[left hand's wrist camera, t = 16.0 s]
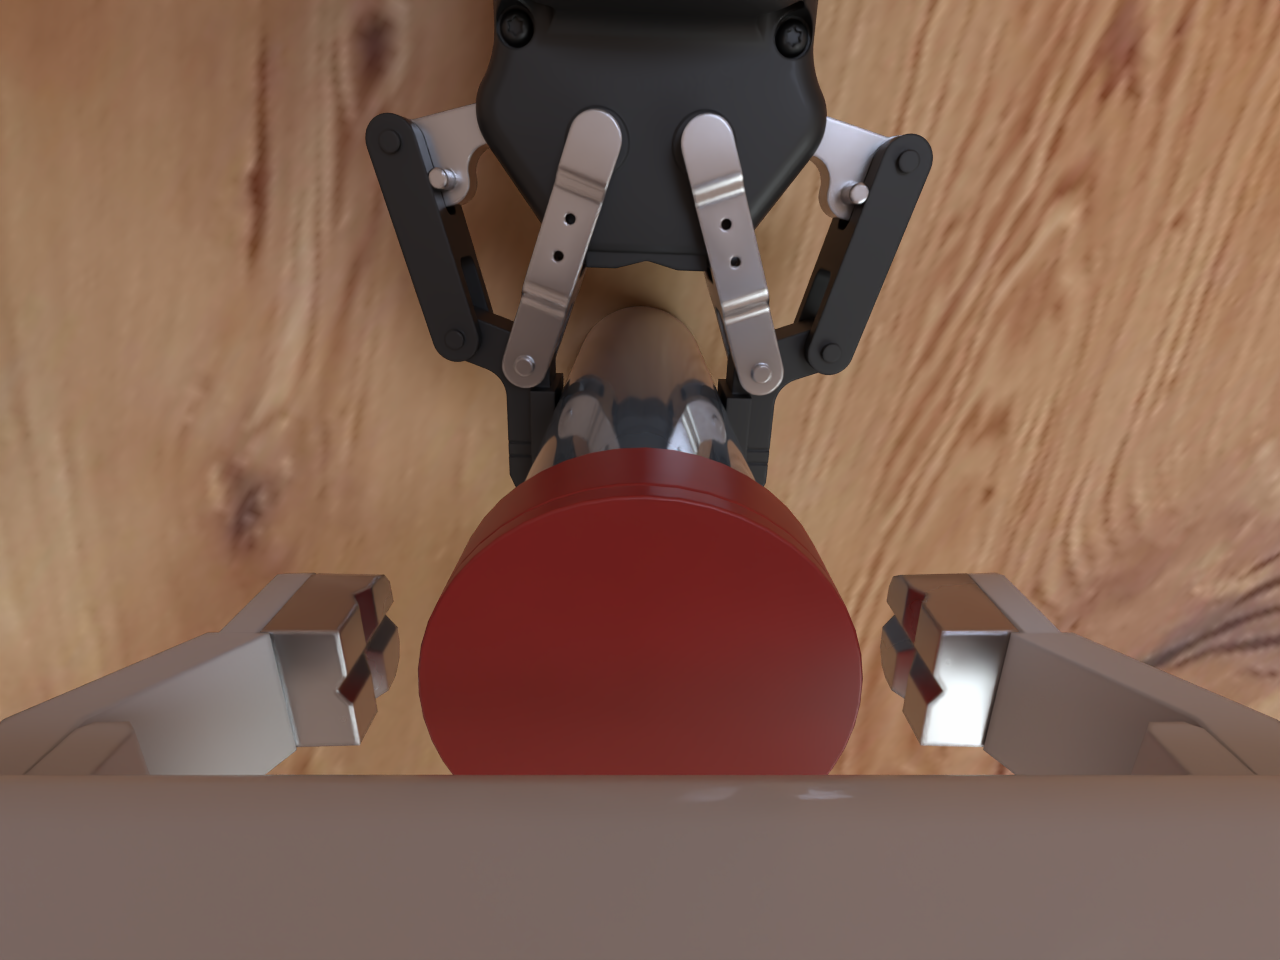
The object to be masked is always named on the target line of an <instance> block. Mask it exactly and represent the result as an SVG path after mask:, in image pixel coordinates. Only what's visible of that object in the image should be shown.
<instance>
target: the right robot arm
mask: <svg viewBox="0 0 1280 960" xmlns="http://www.w3.org/2000/svg"><path fill="white" fill-rule="evenodd" d="M493 4H494V46H493V51H492V56H491V60H490V63H489V66H488V69H487V71H486V74H485V76H484V78H483V80H482V82H481V84H480V86H479V89H478V93H477V98H476V103H474V104H470V105H467V106H463V107H459V108H455V109H451V110H448V111H444V112H440V113H436V114H432V115H429V116H425V117H421V118H417V119H407V118H404V117H402V116H399V115H396V114H393V113H383V114H379V115H377V116H376V117H374V118H373V119H372V120H371V121H370V123H369V125H368V127H367V129H366V137H365V139H366V145H367V149H368V152H369V155H370V158H371V161H372V164H373V167H374V169H375V172H376V175H377V178H378V181H379V184H380V187H381V190H382V193H383V196H384V199H385V202H386V205H387V208H388V211H389V214H390V217H391V220H392V223H393V226H394V229H395V232H396V235H397V237H398V240H399V243H400V246H401V249H402V252H403V255H404V258H405V261H406V264H407V267H408V270H409V273H410V276H411V279H412V282H413V285H414V288H415V291H416V294H417V297H418V300H419V303H420V305H421V308H422V311H423V314H424V317H425V320H426V323H427V326H428V329H429V332H430V335H431V338H432V341H433V344H434V346H435V348H436V350H437V351H438V353H439V354H440V355H441V356H443V357H444V358H446V359H448V360H450V361H454V362H461V361H467V362H470V363H473V364H475V365H478V366H480V367H483V368H486V369H488V370H490V371H492V372H493V373H495V374H496V375H497V376H498V377H499V378H500V379H501V381H502V382H503V384H504V386H505V389H506V394H507V414H508V440H509V465H510V476H511V478H512V480H513V482H514V484H515V486H516V487H517V486H518V485H520V484H521V483H523V482H524V481H525V479H526V476H527V474H528V472H529V469H530V467H531V464H532V462H533V460H534V457H535V455H536V453H537V450H538V448H539V446H540V443H541V441H542V438H543V436H544V434H545V431H546V429H547V427H548V424H549V422H550V420H551V417H552V415H553V412H554V410H555V408H556V405H557V403H558V401H559V398H560V396H561V393H562V391H563V373H556V356H557V353H558V350H559V347H560V344H561V341H562V338H563V335H564V332H565V329H566V326H567V323H568V320H569V317H570V314H571V311H572V308H573V306H574V303H575V300H576V298H577V295H578V293H579V290H580V287H581V284H582V281H583V278H584V275H585V272H586V269H587V267H596V268H618V267H622V266H626V265H631V264H635V263H639V262H643V261H650V262H653V263H656V264H659V265H662V266H666V267H669V268H672V269H675V270H684V271H704V275H705V279H706V283H707V287H708V290H709V294H710V297H711V300H712V303H713V306H714V309H715V313H716V316H717V320H718V324H719V328H720V332H721V335H722V339H723V343H724V347H725V351H726V354H727V358H728V363H727V376H726V379H718V394H719V396H720V399H721V401H722V403H723V406H724V408H725V410H726V413H727V415H728V418H729V420H730V422H731V425H732V427H733V429H734V432H735V434H736V436H737V439H738V441H739V443H740V446H741V448H742V451H743V453H744V455H745V458H746V460H747V462H748V465H749V467H750V469H751V472H752V474H753V476H754V479H755V481H756V482H757V483H759V484H760V485H762V486H763V487H764V485H765V483H766V476H767V467H768V465H767V463H768V457H769V448H770V439H771V430H772V420H773V411H774V403H775V399H776V397H777V395H778V393H779V392H780V390H781V389H782V388H783V387H784V386H785V385H786V384H788V383H790V382H791V381H794V380H796V379H799V378H802V377H806V376H809V375H812V374H815V373H821V374H824V375H833V374H836V373H839V372H841V371H842V370H844V369H845V368H846V367H847V366H848V365H849V363H850V362H851V360H852V357H853V355H854V353H855V350H856V348H857V345H858V343H859V341H860V338H861V336H862V333H863V331H864V329H865V326H866V324H867V321H868V319H869V316H870V314H871V312H872V309H873V307H874V304H875V302H876V300H877V297H878V295H879V292H880V290H881V287H882V285H883V283H884V280H885V278H886V275H887V273H888V271H889V268H890V266H891V263H892V261H893V258H894V256H895V254H896V251H897V249H898V246H899V244H900V242H901V239H902V237H903V234H904V232H905V230H906V227H907V225H908V222H909V220H910V217H911V215H912V213H913V210H914V208H915V205H916V203H917V201H918V198H919V196H920V193H921V191H922V188H923V186H924V184H925V181H926V179H927V176H928V174H929V172H930V169H931V166H932V161H933V154H932V149H931V147H930V145H929V143H928V142H927V140H926V139H924V138H923V137H922V136H920V135H917V134H905V135H898V136H893V137H886V136H883V135H880V134H877V133H874V132H871V131H868V130H866V129H863V128H860V127H857V126H854V125H851V124H848V123H845V122H842V121H839V120H837V119H834V118H831V117H828V116H827V110H826V103H825V100H824V96H823V94H822V91H821V89H820V87H819V84H818V81H817V77H816V73H815V68H814V59H813V43H814V33H815V24H816V15H817V5H818V0H493ZM489 148H490V149H491V150H492V152H493V153H494V155H495V156H496V158H497V159H498V161H499V162H500V163H501V165H502V166H503V168H504V169H505V171H506V172H507V174H508V175H509V177H510V178H511V180H512V181H513V182H514V184H515V185H516V187H517V188H518V190H519V191H520V193H521V194H522V196H523V197H524V199H525V200H526V202H527V203H528V204H529V206H530V207H531V209H532V210H533V212H534V213H535V215H536V216H537V218H538V219H539V221H540V222H541V223H542V225H541V228H540V232H539V235H538V238H537V241H536V245H535V248H534V251H533V254H532V258H531V261H530V264H529V267H528V270H527V274H526V277H525V280H524V284H523V288H522V297H521V301H520V304H519V308H518V311H517V314H516V317H515V320H514V321H511V320H509V319H506V318H504V317H501V316H499V315H496V314H494V313H493V310H492V307H491V303H490V300H489V297H488V293H487V290H486V287H485V283H484V280H483V277H482V273H481V270H480V267H479V263H478V260H477V257H476V253H475V250H474V247H473V244H472V240H471V237H470V234H469V230H468V227H467V224H466V220H465V217H464V214H463V210H462V207H461V205H463V204H466V203H468V202H469V201H470V200H471V199H472V198H473V197H474V195H475V193H476V190H477V175H476V167H477V162H478V160H479V158H480V156H481V155H482V153H483V152H485V151H486V150H487V149H489ZM809 160H810V161H812V162H813V163H814V164H815V165H816V167H817V168H818V170H819V172H820V176H821V186H820V191H819V203H820V206H821V209H822V210H823V212H824V213H825V214H826V215H828V216H829V217H831V218H833V219H832V222H831V225H830V227H829V230H828V233H827V235H826V238H825V241H824V243H823V246H822V249H821V251H820V254H819V257H818V259H817V262H816V265H815V267H814V270H813V273H812V275H811V278H810V281H809V283H808V286H807V289H806V291H805V294H804V297H803V299H802V302H801V305H800V307H799V310H798V313H797V315H796V318H795V321H794V323H793V324H790V325H787V326H784V327H781V328H778V329H775V330H774V326H773V321H772V317H771V313H770V308H769V293H768V288H767V283H766V279H765V275H764V271H763V266H762V262H761V258H760V253H759V249H758V245H757V241H756V236H755V232H754V230H755V229H756V227H757V226H758V225H759V223H760V222H761V221H762V220H763V218H764V217H765V216H766V215H767V213H768V212H769V211H770V209H771V208H772V207H773V206H774V204H775V203H776V202H777V201H778V199H779V198H780V197H781V196H782V194H783V193H784V192H785V190H786V189H787V188H788V187H789V185H790V184H791V183H792V182H793V180H794V179H795V178H796V176H797V175H798V174H799V173H800V171H801V170H802V169H803V168H804V166H805V165H806V164H807V163H808V161H809Z"/></svg>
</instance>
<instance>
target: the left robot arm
mask: <svg viewBox="0 0 1280 960" xmlns="http://www.w3.org/2000/svg"><path fill="white" fill-rule="evenodd" d="M392 603H393V596H392V591H391V586H390V581H389V580H388V579H387V578H386V576H385V575H372V574H316V573H287V574H278V575H276V576H275V577H274V578H273V579H272V580H271V581H270V582H269V583H268V584H267V585H266V586H265V587H264V588H263V589H262V590H261V591H260V592H259V593H258V594H257V595H256V596H255V597H254V598H253V599H252V600H251V601H250V602H249V603H248V604H247V605H246V606H245V607H244V608H243V609H242V610H241V611H240V612H239V613H238V614H237V615H236V616H235V617H234V618H233V619H232V620H231V621H230V622H229V623H228V624H227V625H226V626H225V627H224V628H223V629H222V630H221V631H220V632H219V633H205V634H203V635H201V636H198V637H196V638H194V639H191V640H189V641H187V642H184V643H182V644H179V645H177V646H175V647H172V648H170V649H168V650H165V651H163V652H161V653H158V654H156V655H154V656H151V657H149V658H147V659H144V660H142V661H139V662H137V663H135V664H132V665H130V666H128V667H125V668H123V669H121V670H118V671H116V672H114V673H111V674H109V675H106V676H104V677H102V678H99V679H97V680H95V681H92V682H90V683H88V684H85V685H83V686H81V687H78V688H76V689H74V690H71V691H69V692H66V693H64V694H62V695H59V696H57V697H55V698H52V699H50V700H48V701H45V702H43V703H41V704H38V705H36V706H33V707H31V708H29V709H26V710H24V711H22V712H19V713H17V714H15V715H12V716H10V717H8V718H5V719H4V720H2V721H1V722H0V960H1280V721H1278V720H1277V719H1274V718H1272V717H1270V716H1267V715H1265V714H1263V713H1260V712H1258V711H1255V710H1253V709H1251V708H1248V707H1246V706H1244V705H1241V704H1239V703H1237V702H1234V701H1232V700H1230V699H1227V698H1225V697H1223V696H1220V695H1218V694H1216V693H1213V692H1211V691H1209V690H1206V689H1204V688H1201V687H1199V686H1197V685H1194V684H1192V683H1190V682H1187V681H1185V680H1183V679H1180V678H1178V677H1176V676H1173V675H1171V674H1169V673H1166V672H1164V671H1162V670H1159V669H1157V668H1155V667H1152V666H1150V665H1147V664H1145V663H1143V662H1140V661H1138V660H1136V659H1133V658H1131V657H1129V656H1126V655H1124V654H1122V653H1119V652H1117V651H1115V650H1112V649H1110V648H1108V647H1105V646H1103V645H1101V644H1098V643H1096V642H1093V641H1091V640H1089V639H1086V638H1084V637H1082V636H1079V635H1077V634H1075V633H1061V632H1060V631H1059V630H1058V629H1057V628H1056V627H1055V626H1054V625H1053V624H1052V623H1051V622H1050V621H1049V620H1048V619H1047V618H1046V617H1045V616H1044V615H1043V614H1042V613H1041V612H1040V611H1039V610H1038V609H1037V608H1036V607H1035V606H1034V605H1033V604H1032V603H1031V602H1030V601H1029V600H1028V599H1027V598H1026V597H1025V596H1024V595H1023V594H1022V593H1021V592H1020V591H1019V590H1018V589H1017V588H1016V587H1015V586H1014V585H1013V584H1012V583H1011V582H1010V581H1009V580H1008V579H1007V578H1006V577H1005V576H1004V575H1001V574H998V573H975V574H967V573H965V574H924V575H898V576H893V578H892V581H891V583H890V585H889V590H888V596H887V603H888V604H889V606H890V608H891V609H892V611H893V613H894V614H895V615H894V616H893V617H892V618H891V619H890V620H889V621H888V622H887V623H886V624H885V625H884V626H883V628H882V636H881V645H880V650H881V662H882V668H883V671H884V675H885V678H886V680H887V682H888V684H889V686H890V688H891V690H892V691H894V692H895V693H897V694H898V695H900V696H901V697H903V698H904V699H905V700H904V706H903V713H904V715H905V717H906V719H907V721H908V723H909V724H910V726H911V728H912V730H913V732H914V734H915V736H916V738H917V739H918V741H919V743H920V745H930V746H968V747H984V748H983V750H984V751H986V752H987V753H988V754H989V755H991V756H992V757H993V758H995V759H996V760H997V761H999V762H1000V763H1001V764H1002V765H1004V766H1005V767H1006V768H1008V769H1009V770H1010V771H1011V772H1013V773H1014V774H1015V775H265V774H266V773H268V772H269V771H270V770H272V769H273V768H274V767H275V766H277V765H278V764H279V763H281V762H282V761H283V760H284V759H286V758H287V757H288V756H290V755H291V754H292V753H293V752H295V751H296V747H312V746H348V745H360V743H361V742H362V740H363V738H364V736H365V734H366V732H367V730H368V728H369V726H370V725H371V723H372V721H373V719H374V717H375V715H376V713H377V705H376V698H377V697H379V696H380V695H382V694H383V693H385V692H387V691H388V690H389V688H390V686H391V684H392V682H393V680H394V678H395V676H396V671H397V666H398V662H399V643H400V641H399V634H398V627H397V626H396V625H395V624H394V623H393V622H392V621H391V620H390V619H389V618H388V617H387V616H386V615H385V614H386V613H387V611H388V609H389V608H390V606H391V605H392Z"/></svg>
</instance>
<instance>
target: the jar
mask: <svg viewBox="0 0 1280 960" xmlns="http://www.w3.org/2000/svg"><path fill="white" fill-rule="evenodd" d="M645 447H646V448H658V449H669V450H676V451H681V452H685V453H690V454H695V455H699V456H702V457H705V458H708V459H711V460H714V461H716V462H719V463H722V464H725V465H727V466H729V467H731V468H733V469H735V470H737V471H739V472H741V473H743V474H745V475H747V476H748V477H750V478H751V479H753V480H754V481H755V479H754V476H753V474H752V472H751V469H750V467H749V465H748V462H747V460H746V458H745V455H744V453H743V451H742V448H741V446H740V443H739V441H738V439H737V436H736V434H735V432H734V429H733V427H732V425H731V422H730V420H729V418H728V415H727V413H726V410H725V408H724V406H723V403H722V401H721V399H720V396H719V394H718V392H717V389H716V387H715V385H714V382H713V380H712V378H711V375H710V373H709V370H708V368H707V366H706V363H705V361H704V359H703V356H702V354H701V352H700V349H699V347H698V345H697V342H696V340H695V338H694V337H693V335H692V333H691V332H690V331H689V329H688V328H687V327H686V326H685V325H684V324H683V323H682V322H681V321H680V320H678V319H677V318H676V317H674V316H673V315H671V314H669V313H667V312H665V311H663V310H660V309H657V308H652V307H645V306H633V307H627V308H623V309H620V310H617V311H615V312H613V313H611V314H609V315H607V316H606V317H604V318H602V319H601V320H600V321H599V322H598V323H597V324H596V325H595V326H594V327H593V328H592V329H591V330H590V332H589V333H588V335H587V336H586V338H585V340H584V342H583V344H582V346H581V349H580V351H579V353H578V356H577V358H576V360H575V363H574V365H573V367H572V370H571V372H570V375H569V377H568V379H567V382H566V384H565V386H564V389H563V391H562V393H561V396H560V398H559V401H558V403H557V405H556V408H555V410H554V412H553V415H552V417H551V420H550V422H549V424H548V427H547V429H546V431H545V434H544V436H543V438H542V441H541V443H540V446H539V448H538V450H537V453H536V455H535V457H534V460H533V462H532V464H531V467H530V469H529V472H528V474H527V476H526V479H525V481H526V480H528V479H530V478H531V477H533V476H534V475H536V474H538V473H539V472H541V471H543V470H545V469H548V468H550V467H552V466H554V465H557V464H559V463H561V462H563V461H566V460H569V459H572V458H576V457H579V456H583V455H586V454H589V453H594V452H600V451H606V450H612V449H618V448H645ZM525 481H524V482H525Z"/></svg>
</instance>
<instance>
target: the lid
mask: <svg viewBox="0 0 1280 960" xmlns="http://www.w3.org/2000/svg"><path fill="white" fill-rule="evenodd" d="M862 681H863V676H862V660H861V652H860V647H859V643H858V639H857V634H856V630H855V628H854V625H853V623H852V620H851V618H850V615H849V613H848V611H847V608H846V606H845V604H844V602H843V600H842V598H841V596H840V595H839V593H838V591H837V589H836V587H835V585H834V583H833V581H832V579H831V577H830V575H829V573H828V571H827V569H826V567H825V565H824V563H823V562H822V560H821V558H820V556H819V554H818V552H817V550H816V548H815V546H814V544H813V543H812V541H811V539H810V538H809V536H808V534H807V533H806V531H805V529H804V528H803V526H802V525H801V523H800V522H799V521H798V520H797V519H796V517H795V516H794V515H793V514H792V512H791V511H790V510H789V509H788V508H787V507H786V506H785V505H784V504H783V503H782V502H781V501H780V500H779V499H778V498H777V497H775V496H774V495H773V494H772V493H771V492H770V491H769V490H767V489H766V488H764V487H763V486H762V485H760V484H759V483H757V482H756V481H754V480H753V479H751V478H750V477H748V476H747V475H745V474H743V473H741V472H739V471H737V470H735V469H733V468H731V467H729V466H727V465H725V464H722V463H719V462H716V461H714V460H711V459H708V458H705V457H702V456H699V455H695V454H690V453H685V452H681V451H676V450H669V449H658V448H646V447H645V448H618V449H612V450H606V451H600V452H594V453H589V454H586V455H583V456H579V457H576V458H572V459H569V460H566V461H563V462H561V463H559V464H557V465H554V466H552V467H550V468H548V469H545V470H543V471H541V472H539V473H538V474H536V475H534V476H533V477H531V478H530V479H528V480H526V481H525V482H523V483H521V484H520V485H518V486H517V487H516V488H515V489H514V490H512V491H511V492H510V493H509V494H507V495H506V496H505V497H504V498H502V499H501V500H500V501H499V502H498V503H497V504H496V505H495V507H494V508H493V509H492V510H491V511H490V512H489V513H488V514H487V515H486V516H485V517H484V519H483V520H482V522H481V523H480V524H479V526H478V527H477V529H476V530H475V532H474V533H473V535H472V536H471V538H470V540H469V542H468V544H467V545H466V547H465V549H464V551H463V553H462V555H461V557H460V559H459V561H458V563H457V565H456V567H455V569H454V571H453V573H452V575H451V577H450V579H449V581H448V582H447V585H446V586H445V588H444V590H443V592H442V594H441V596H440V598H439V600H438V602H437V604H436V606H435V608H434V610H433V613H432V615H431V617H430V619H429V621H428V624H427V627H426V631H425V634H424V637H423V641H422V644H421V650H420V658H419V666H418V683H419V697H420V702H421V707H422V712H423V717H424V720H425V723H426V726H427V729H428V731H429V734H430V737H431V740H432V742H433V744H434V745H435V747H436V749H437V751H438V753H439V755H440V757H441V758H442V760H443V762H444V763H445V765H446V766H447V767H448V769H449V770H450V771H451V773H452V774H453V775H828V774H829V772H830V771H831V770H832V769H833V767H834V765H835V764H836V762H837V760H838V759H839V757H840V756H841V754H842V752H843V751H844V749H845V747H846V745H847V742H848V740H849V738H850V735H851V733H852V731H853V728H854V725H855V722H856V718H857V714H858V710H859V706H860V701H861V691H862Z"/></svg>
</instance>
